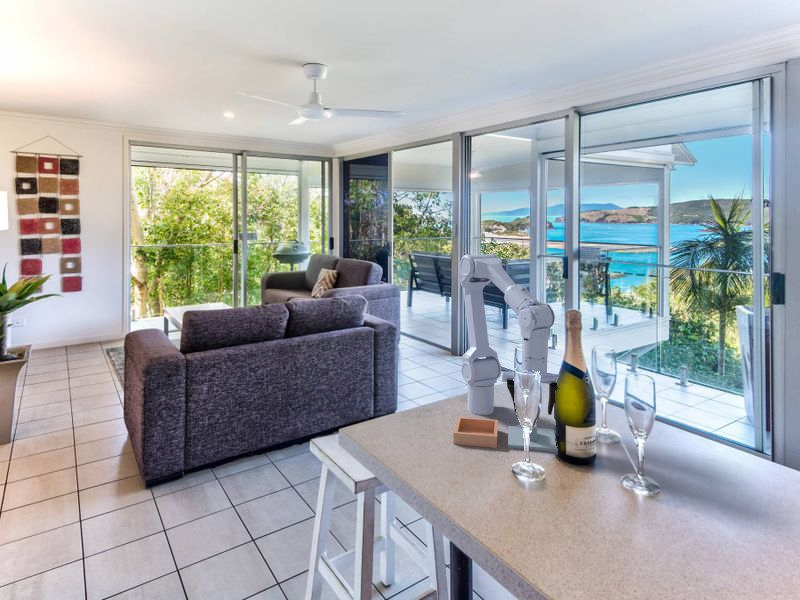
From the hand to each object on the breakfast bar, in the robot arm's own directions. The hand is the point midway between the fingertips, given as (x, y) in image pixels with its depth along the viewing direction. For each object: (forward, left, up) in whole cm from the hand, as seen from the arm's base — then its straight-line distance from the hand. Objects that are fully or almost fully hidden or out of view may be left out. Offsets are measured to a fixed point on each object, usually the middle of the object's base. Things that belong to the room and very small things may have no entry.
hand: (532, 412), depth 116 cm
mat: (0, 0, -8) cm, 8 cm away
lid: (0, 0, -7) cm, 7 cm away
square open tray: (+1, -13, -8) cm, 15 cm away
